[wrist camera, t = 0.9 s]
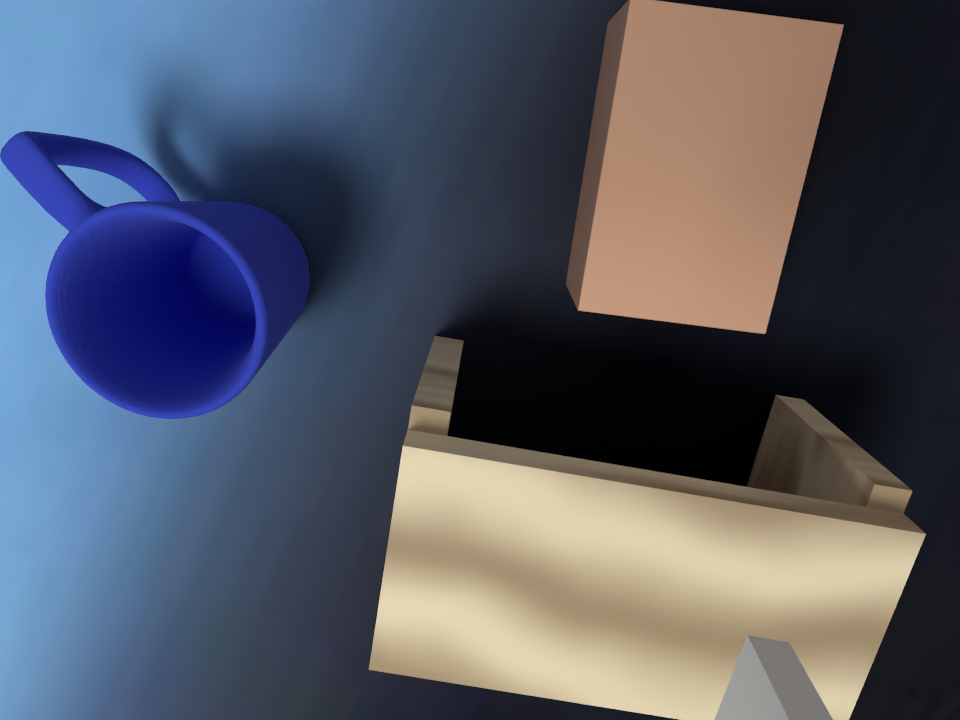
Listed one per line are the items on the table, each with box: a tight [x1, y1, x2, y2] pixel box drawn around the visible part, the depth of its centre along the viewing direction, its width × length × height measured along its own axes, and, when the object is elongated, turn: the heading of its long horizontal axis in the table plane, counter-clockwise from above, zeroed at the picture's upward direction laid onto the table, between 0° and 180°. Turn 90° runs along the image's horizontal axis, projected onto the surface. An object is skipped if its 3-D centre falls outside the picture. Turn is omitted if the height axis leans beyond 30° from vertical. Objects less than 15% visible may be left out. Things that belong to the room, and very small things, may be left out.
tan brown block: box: [566, 0, 844, 334], centre depth 31 cm, size 12×8×6 cm, turn 173°
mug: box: [0, 131, 310, 419], centre depth 30 cm, size 8×12×10 cm
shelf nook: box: [369, 336, 926, 720], centre depth 32 cm, size 11×20×12 cm, turn 80°
